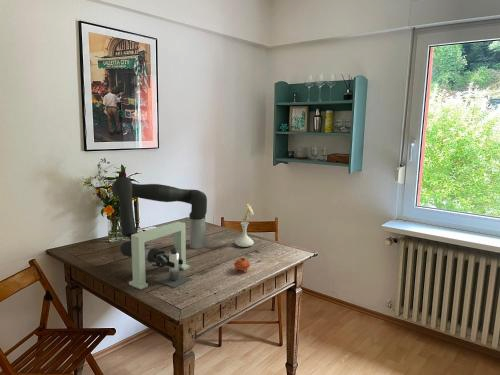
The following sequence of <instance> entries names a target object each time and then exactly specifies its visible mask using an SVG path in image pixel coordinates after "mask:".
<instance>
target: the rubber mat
mask: <svg viewBox="0 0 500 375" xmlns="http://www.w3.org/2000/svg"><path fill="white" fill-rule="evenodd" d="M191 280H192V278H191V277H188V276H185V275H182V274H180V273H179V279H177V280H170V279H169V274H168V275H166V276H164V277H162V278H159V279H157V280H156V282H157V283H159V284H163V285H165V286H166V287H171V288H173V289H175V288H177V287H179V286H181V285H184V284H185V283H187V282H189V281H191Z"/></svg>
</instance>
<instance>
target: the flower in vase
mask: <svg viewBox="0 0 500 375" xmlns="http://www.w3.org/2000/svg"><path fill="white" fill-rule="evenodd" d="M246 207H247V212H246V214H245V216H244V218H243V219H242V221H241V222H240V225H241V228H242V234H241V236H239V237H237V238H236V239H235V240H234V244H235V245H236V246H237V247H241V248H242V247H243V248H245V247H251V246H253V245H254V242H255V241H254V240H253V239H252V238H251V237H249V236H248V234H247V230H248V229H247V228H248V225H249V222H248V221H247V220H249V215H247V214H248V213H249V214H250V215H251V216H254V214H255V213H254V209H252V208H253V207H252V206H251V205H250V204H249V203H246Z"/></svg>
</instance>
